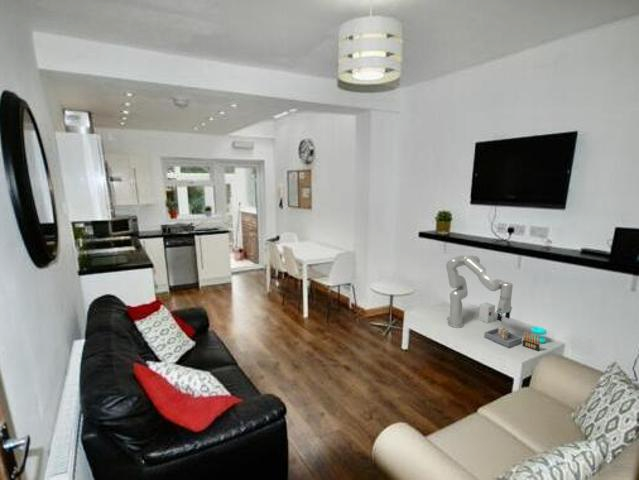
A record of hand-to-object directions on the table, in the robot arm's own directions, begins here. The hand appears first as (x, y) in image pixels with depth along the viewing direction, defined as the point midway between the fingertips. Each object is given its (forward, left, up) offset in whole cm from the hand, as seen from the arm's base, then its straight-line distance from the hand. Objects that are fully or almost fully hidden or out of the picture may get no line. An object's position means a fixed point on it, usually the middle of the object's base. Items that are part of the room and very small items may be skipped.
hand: (503, 319), depth 256 cm
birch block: (0, 0, -16) cm, 16 cm away
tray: (+1, 0, -17) cm, 17 cm away
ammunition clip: (+19, +6, -18) cm, 26 cm away
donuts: (+15, +22, -18) cm, 32 cm away
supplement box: (-29, +22, -18) cm, 41 cm away
